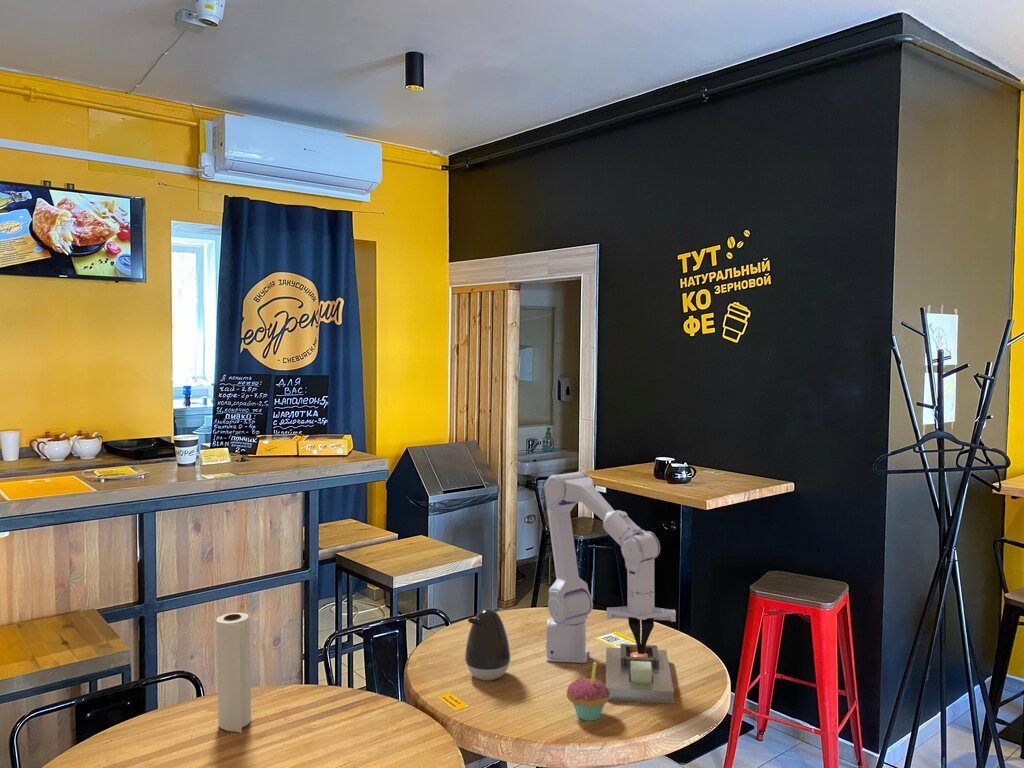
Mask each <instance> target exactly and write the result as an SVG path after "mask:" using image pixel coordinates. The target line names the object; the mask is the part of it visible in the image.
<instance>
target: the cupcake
mask: <svg viewBox="0 0 1024 768" xmlns="http://www.w3.org/2000/svg"><path fill="white" fill-rule="evenodd" d="M597 664H598V663H597V659H595V660H594V662H593V663H592V671H591V678H588V677H581V678H580V677H579V678H578V679H575V680H574V681H571V682H570V684H569V685H568V687H567V690H566V693H565V694H566V698H567V699H568V700H569V701H570V702H571V703H572V705H573V707H574V710H575V713H576V716H577V717H578V718H579V719H580V720H583V721H589V722H591V721H596V720H598V719H600V717H601V716H602V712H603V709H604V706H605V704H606V703H608V702H609V700H608V698H609V696H610V692H609V690H608V688H607V686H606V683H604V682H603V681H600V680H599V679H597V678H596V671H597Z"/></svg>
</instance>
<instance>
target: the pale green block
mask: <svg viewBox="0 0 1024 768" xmlns="http://www.w3.org/2000/svg"><path fill="white" fill-rule="evenodd" d="M630 679H631V682H633V683H652V667H651V662H643V661H630Z"/></svg>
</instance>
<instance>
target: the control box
mask: <svg viewBox="0 0 1024 768" xmlns="http://www.w3.org/2000/svg"><path fill="white" fill-rule="evenodd" d="M605 650H606V651H605V653H606V655H605V657H606V658H605V659H606V660H605V663H606V664H605V685H606V686H607V688H608V690H609V692H610V696H609V698H608V701H612V702H613V701H615V702H635V703H637V702H638V703H650V704H651V703H653V704H669V705H671V704H675V690H674V689H675V688H674V685H673V678H672V674H671V669H670V662H669V658H668V653H667V649H658V645H650V644H646V647H645V653H646V654H648V657H630V654H631V653H633V652H638V649H637V644H629V643H628V644H627V643H620V647H606V649H605ZM630 661H643V662H651V667H652V683H633V682H631V679H630Z"/></svg>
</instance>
